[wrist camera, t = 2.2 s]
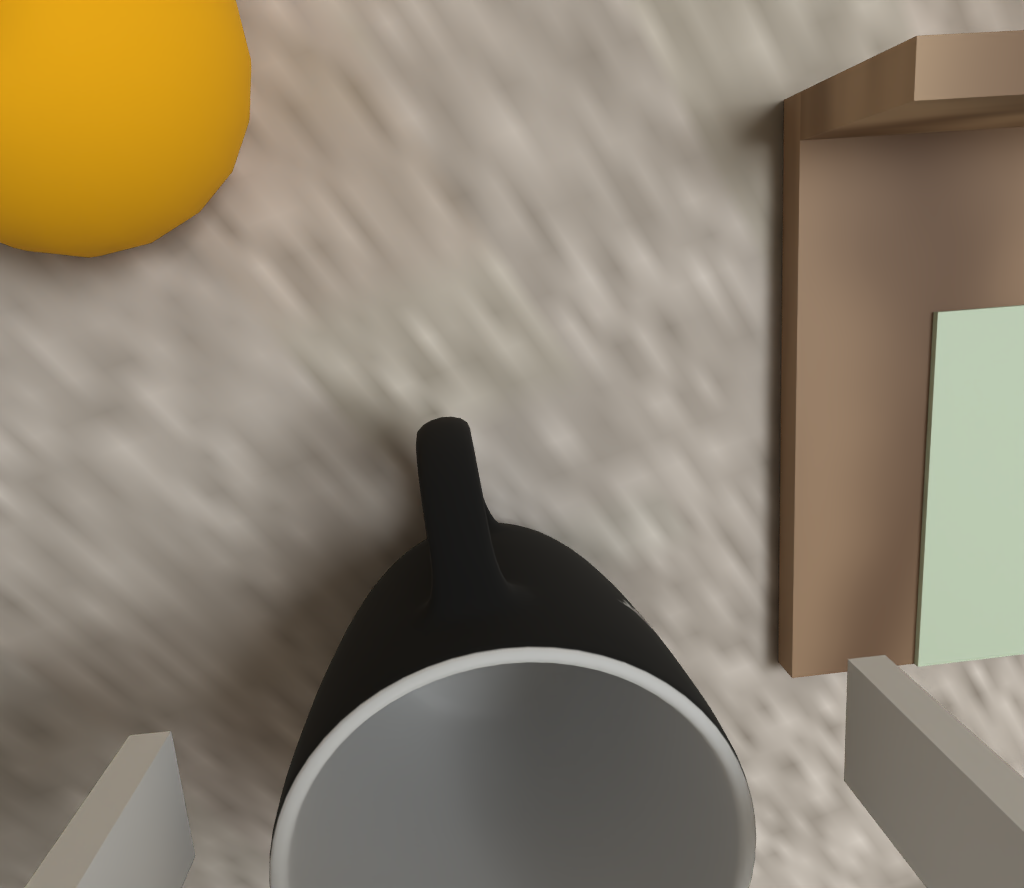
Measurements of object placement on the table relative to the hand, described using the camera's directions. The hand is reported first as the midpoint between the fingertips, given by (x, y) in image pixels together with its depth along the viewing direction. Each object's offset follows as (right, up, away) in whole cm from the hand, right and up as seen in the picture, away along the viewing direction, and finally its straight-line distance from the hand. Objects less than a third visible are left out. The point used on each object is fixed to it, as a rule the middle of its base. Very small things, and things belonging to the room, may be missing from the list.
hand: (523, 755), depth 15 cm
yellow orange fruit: (-10, +15, +5) cm, 19 cm away
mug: (-1, +2, +9) cm, 9 cm away
